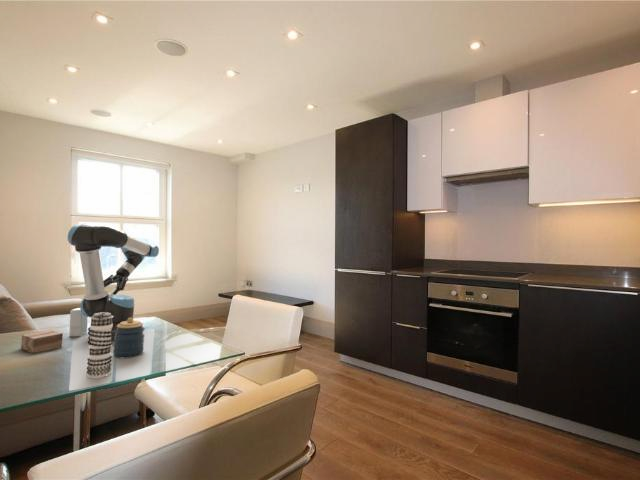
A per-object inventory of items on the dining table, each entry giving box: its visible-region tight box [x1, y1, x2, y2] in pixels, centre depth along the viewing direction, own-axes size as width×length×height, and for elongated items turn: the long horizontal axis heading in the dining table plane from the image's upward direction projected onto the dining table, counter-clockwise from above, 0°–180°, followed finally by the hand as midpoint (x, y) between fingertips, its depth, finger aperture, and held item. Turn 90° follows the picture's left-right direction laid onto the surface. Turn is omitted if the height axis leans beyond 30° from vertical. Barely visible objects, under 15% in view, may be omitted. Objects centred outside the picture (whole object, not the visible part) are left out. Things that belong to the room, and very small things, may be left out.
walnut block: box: [20, 329, 64, 354], centre depth 168 cm, size 12×12×7 cm
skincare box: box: [68, 307, 88, 337], centre depth 193 cm, size 8×6×15 cm
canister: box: [112, 317, 145, 359], centre depth 165 cm, size 13×13×18 cm
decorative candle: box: [86, 312, 115, 379], centre depth 139 cm, size 9×9×25 cm
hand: (101, 297), depth 205 cm, fingers open, 13 cm apart
